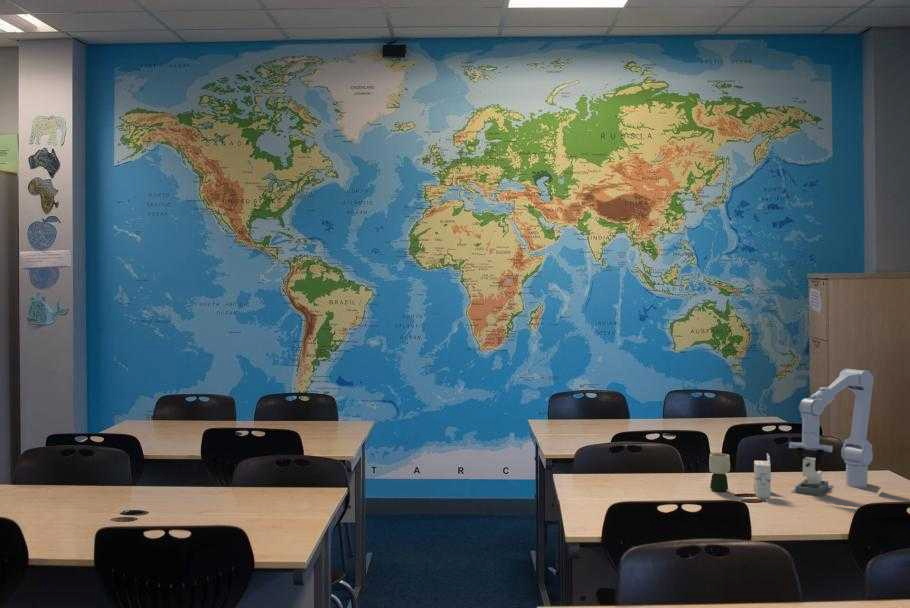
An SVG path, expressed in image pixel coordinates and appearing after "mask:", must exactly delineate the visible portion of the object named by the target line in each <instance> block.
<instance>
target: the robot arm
mask: <svg viewBox="0 0 910 608" xmlns="http://www.w3.org/2000/svg"><path fill="white" fill-rule="evenodd" d="M874 378H875V376H874V375H873V374H872V372H871V371H870V370H868V369H867V370H866V369H864V370H863V369H856V368H855V369H851V368H848V367H847V368H844V369H842V371H840V372H839V376H838V377H837V378H836V379H835V380H833V382H832V383H831V384H830V385H828V387H825V386H823V387H822V386H821V387H819V388H818V390H817V391H816V392H815V393H814V394H811V395H810V396H809V397H808V398H807V397H805V398H803V399H802V400H801V401H800V403H799V405H798V410H799V413H800V418H801V419H802V421H801V425H802V427H801V429H802V430H801V442H798V441H797V442H795V441H790V442H788V448H789V449H796V450H795V453H796V455H797V457H798V459H799V463H800V466H801V470H802V471H803V459H804V458H806V452H807V450H809V451H815V454H814V455H815V457H814V458H816V466H815V471H820V470H819V469H820V465H821V462H822V459H823V457H824V455H825V454H826V452H828V453H832V452H833V449H834V448H833V447H834V446H833V445H826V444H820V415H823V412H824V409H825V408H826V406H828V405H829V404H830V403H831V402H833V401H834V400H835V395H837V394H838V393H840V392H841V391H842V390H844V389H845V388H847V389H849V390H850V391H852V392H853V393H854V395H855V396H854V406H853V414H852V422H851V430H850V435H849V437H848V438H846V439H845V440H844V443H843V446H842V447H841V450H840V456H841V459H843V461H844V464H845V468H846V469H845V485H846V486H848V487H850V488H867V487H868V484H869V483H868V475H869V474H868V472H869V471H868V469H869V468H868V466H870V464H871V462H872V461H873V458H874V454H873V444H871V442H869V440H868V439H867V434H868V426H869V419H870V410H871V403H872V396H873V395H872V393H873V389H874V388H873V387H874V382H875V381H874V380H875V379H874Z"/></svg>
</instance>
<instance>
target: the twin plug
mask: <svg viewBox="0 0 910 608" xmlns="http://www.w3.org/2000/svg"><path fill="white" fill-rule="evenodd" d="M822 475H823V472H822V470H818V471H817V476H816V477H815V478H814V477H806V479H807V483H811V484H819V485H822V481H823V480H822V479H823V478H822V477H823V476H822Z"/></svg>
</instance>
